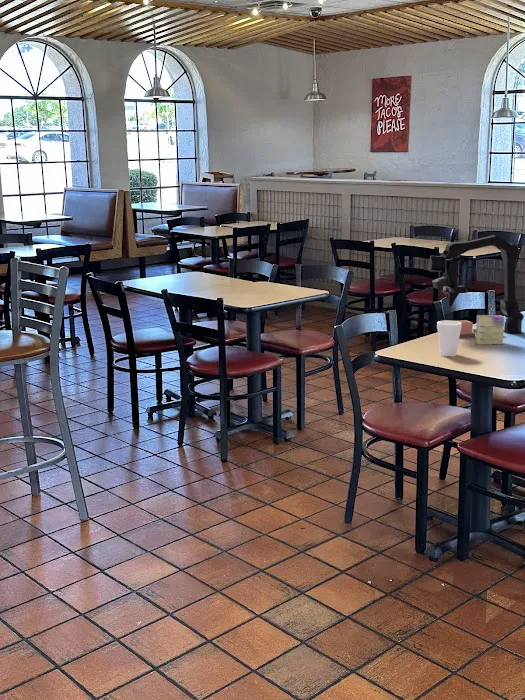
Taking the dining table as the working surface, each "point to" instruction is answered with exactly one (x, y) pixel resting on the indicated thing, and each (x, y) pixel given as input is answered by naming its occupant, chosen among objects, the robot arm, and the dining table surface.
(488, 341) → the box
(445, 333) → the foam cup
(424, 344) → the dining table surface
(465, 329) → the terracotta block
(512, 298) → the robot arm
